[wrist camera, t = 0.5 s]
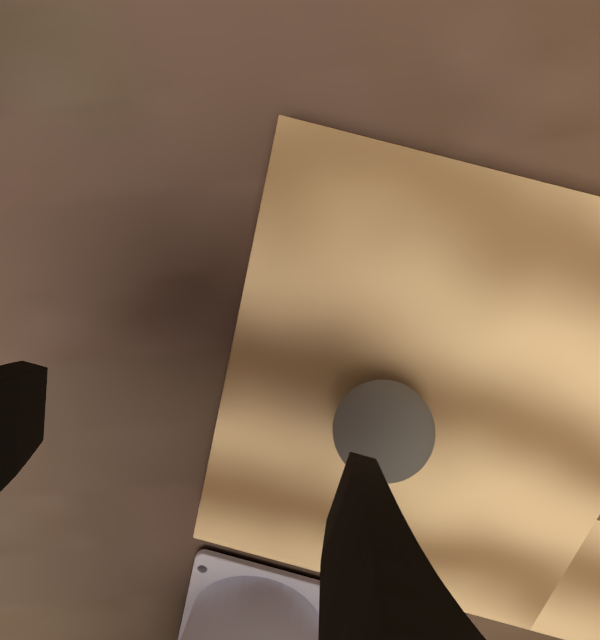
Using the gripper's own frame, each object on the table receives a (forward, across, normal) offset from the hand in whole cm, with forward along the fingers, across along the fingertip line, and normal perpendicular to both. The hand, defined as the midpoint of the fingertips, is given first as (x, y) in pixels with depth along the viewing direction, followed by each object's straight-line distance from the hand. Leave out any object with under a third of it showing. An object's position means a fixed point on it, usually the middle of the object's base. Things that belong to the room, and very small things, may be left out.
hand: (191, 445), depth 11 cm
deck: (+10, -12, +2) cm, 16 cm away
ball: (+6, -5, +2) cm, 8 cm away
